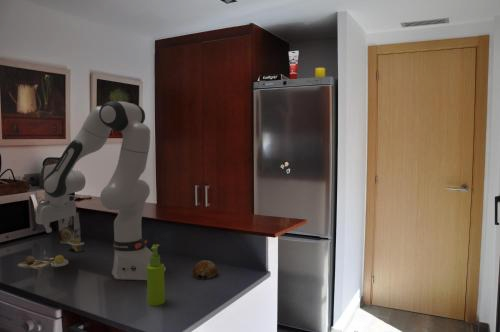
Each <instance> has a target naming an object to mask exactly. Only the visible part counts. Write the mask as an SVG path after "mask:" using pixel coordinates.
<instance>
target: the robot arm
mask: <svg viewBox="0 0 500 332" xmlns="http://www.w3.org/2000/svg"><path fill="white" fill-rule="evenodd" d="M145 120H146V112H145V110H144V109H143V108H142V107H141V106H140V105H138V104H136V103H131V102H127V101H121V100H120V101H116V100H109V101H107V102H105V103H104V104H102V105H98V106H95V107H93V109H92V110H90V113H89V114H88V115H87V116H86V118H85V121H84V122H83V124H82V126H81V128H80V130H79V131H78V133H77V135H76V136H75V137H74V139H73V140H71V142H70V143H69V144H68V145H67V147H66V148H65V149H64V151H63V153H62V154H61V155H60V158H59V159H58V161H57V162H56V163H48V164H47V165H45V167H44V169H43V170H44V171H43V190H44V191H43V192H44V201H42V202H39V203H38V204H37V205H36V210H35V211H36V212H35V223H36V224H37V225H43V227H44V228H45V232H46V233H47V234H49V233H50V234H51V233H52V232H53V229H52V227H50V225H51V223H52V222H56V221H57V222H58V220H60V219H65V220H64V223H63V224H62V225H63V226H62V227H64V228H65V227H68V222H69V219H70V217H71V216H74V215H75V214H76V212H77V205H76V201H75V200H76V196H75V195H72V194H74V193H78V192H80V191H82V190H83V189H85V186H86V183H87V182H86V177H85V175H84V174H83V173H82V172H81V171H79V170H75V169H74V168H75V165H76V164H77V162H79V160H81V159H82V158H84V157H86V156H88V155H89V154H93V153H96V152H97V151H100V150H101V149H102V148H103V147H104V145H105V144H106V142H107V141H108V138H109V137H110V134H111V131H112V130H113V131H115V132H116V133H120V132H121V134H122V142H121V145H120V151H119V156H118V160H117V164H116V167H115V170H114V172H113V175H112V176H111V178H110V180H109V182H108V183H107V184H106V186H105V187H104V188H103V189H102V190H101V191H100V192H101V193H100V195H99V196H100V197H99V198H100V203H101V204H102V205H103V206H104V208H106V209H107V210H110V211H111V210H116V211H117V210H118V214H117V216H116V217H115V219H114V221H113V236H114V239H113V250H114V259H113V266H112V269H111V275H112V276H113V279H114V280H129V281H130V280H132V281H133V280H135V281H147V266H148V265H149V264H150V256H151V255H152V251H151V249H150V248H149V247H147V245H146V244H147V243H148V239H146V240H144V238H143V237H142V219H143V212H144V208H145V204H146V201H147V199H148V198H149V197H150V193H151V191H150V186H149V185H150V184H148V183H147V182H146V181H145V180H143V179H140V177H141V176H142V174H143V173H144V172H145V171H146V167H147V161H148V157H149V156H148V155H149V152H150V144H151V130H150V128H149V126H148V125H147V124H144V123H145ZM166 271H167V268H166V266H164V273H165V272H166Z"/></svg>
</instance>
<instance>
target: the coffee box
mask: <svg viewBox="0 0 500 332" xmlns="http://www.w3.org/2000/svg"><path fill="white" fill-rule="evenodd" d="M64 220H65V219H60V220H57V222H58V223H57V224H58V236H59V244H64V245H66V244H68V242H69V241H70V239H72V240H73V238H74V239H78V240H80V242H82V236H81V222H80V221H81V219H80V211H76V214H75V215H74V216H71V217H70V219H69V222H68V227H65V228H64V227H62V226H63V225H62V224H63V223H64ZM68 245H69V244H68Z"/></svg>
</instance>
